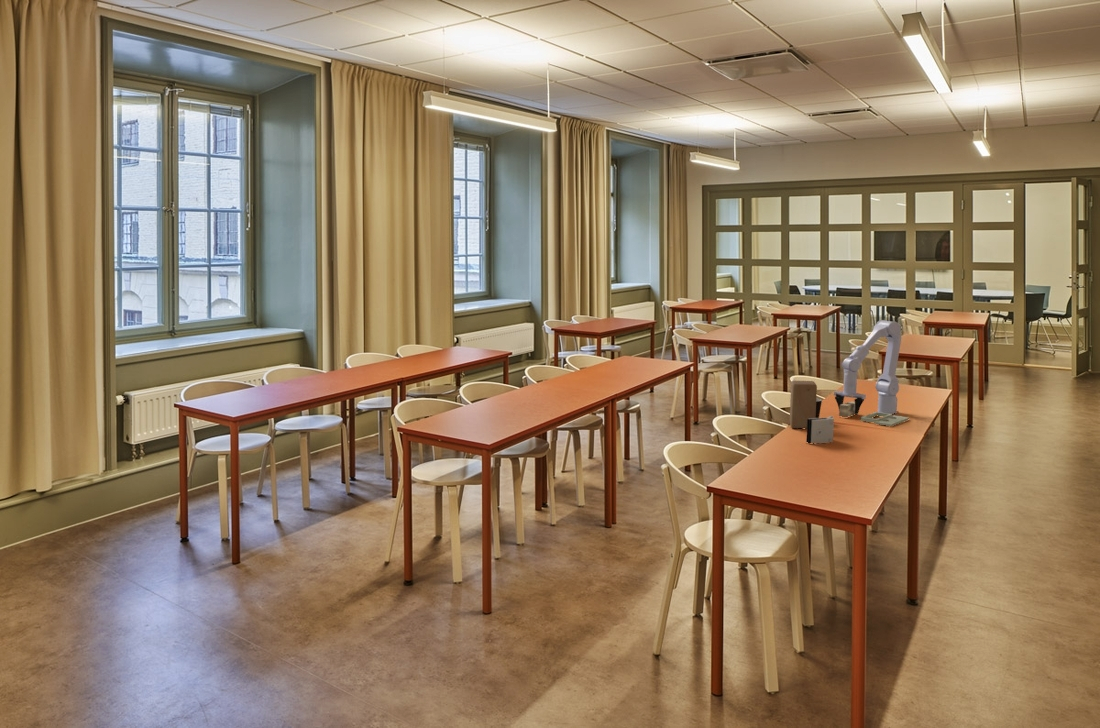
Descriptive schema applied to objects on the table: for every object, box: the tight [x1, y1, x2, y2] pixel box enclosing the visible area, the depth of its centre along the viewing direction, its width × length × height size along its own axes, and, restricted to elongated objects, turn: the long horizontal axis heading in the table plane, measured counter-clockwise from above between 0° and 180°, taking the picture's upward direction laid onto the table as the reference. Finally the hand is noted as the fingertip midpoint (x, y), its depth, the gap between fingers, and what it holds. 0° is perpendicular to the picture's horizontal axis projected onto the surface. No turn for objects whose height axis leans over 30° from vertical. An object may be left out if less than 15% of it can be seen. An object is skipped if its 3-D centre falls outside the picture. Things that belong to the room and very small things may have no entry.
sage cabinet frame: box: [860, 411, 910, 427], centre depth 371 cm, size 20×14×2 cm
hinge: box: [805, 415, 835, 444], centre depth 331 cm, size 14×5×10 cm, turn 116°
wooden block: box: [789, 380, 818, 430], centre depth 359 cm, size 10×10×20 cm
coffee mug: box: [815, 397, 823, 418], centre depth 373 cm, size 12×9×10 cm
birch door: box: [838, 401, 855, 417], centre depth 383 cm, size 12×4×6 cm, turn 135°
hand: (848, 412), depth 383 cm, fingers open, 7 cm apart
